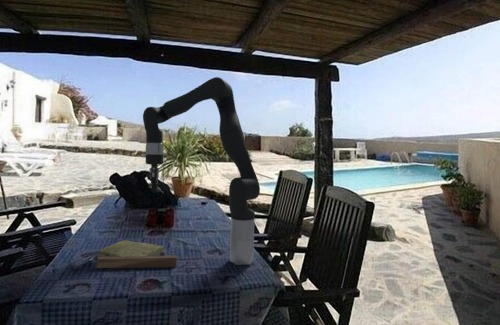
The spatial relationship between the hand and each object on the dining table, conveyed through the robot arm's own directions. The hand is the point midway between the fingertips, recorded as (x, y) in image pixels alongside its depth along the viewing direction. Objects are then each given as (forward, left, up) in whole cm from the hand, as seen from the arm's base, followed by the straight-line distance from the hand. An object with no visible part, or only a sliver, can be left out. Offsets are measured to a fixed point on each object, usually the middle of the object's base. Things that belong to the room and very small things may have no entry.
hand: (154, 192), depth 164 cm
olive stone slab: (-16, +8, -24) cm, 29 cm away
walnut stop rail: (-29, +3, -23) cm, 37 cm away
